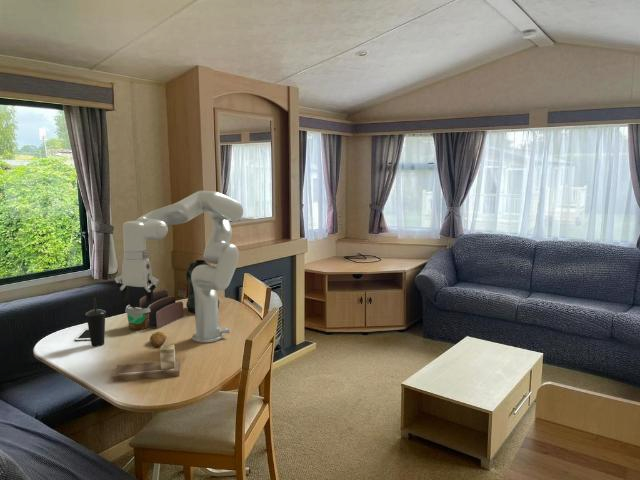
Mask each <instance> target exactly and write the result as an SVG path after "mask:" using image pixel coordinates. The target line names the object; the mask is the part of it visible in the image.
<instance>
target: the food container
mask: <svg viewBox="0 0 640 480" xmlns="http://www.w3.org/2000/svg"><path fill="white" fill-rule="evenodd" d="M124 312H125V313H126V317H127V321H128V322H127V323H128V329H129V330H130V331H135V332H136V331H138V332H139V331H144V330H148V329H150V328H149V312H151V311H150V308H149V307H148V308H141V307H139V306H131V305H130V304H128V305H126V307H125V310H124Z"/></svg>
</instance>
